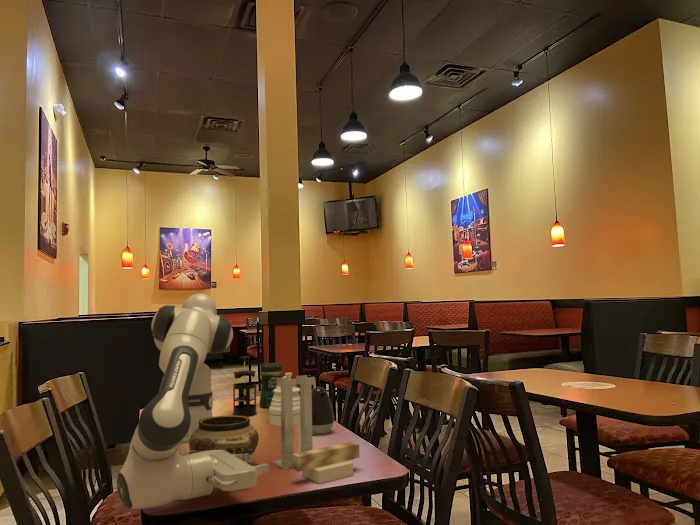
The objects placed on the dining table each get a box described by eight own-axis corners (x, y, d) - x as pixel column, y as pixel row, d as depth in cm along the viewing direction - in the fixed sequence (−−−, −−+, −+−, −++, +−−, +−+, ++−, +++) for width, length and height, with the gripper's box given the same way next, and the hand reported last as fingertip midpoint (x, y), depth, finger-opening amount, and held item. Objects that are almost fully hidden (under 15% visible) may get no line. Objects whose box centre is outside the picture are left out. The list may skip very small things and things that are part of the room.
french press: (260, 415, 203) (259, 356, 205) (236, 418, 199) (236, 358, 201) (251, 410, 214) (251, 354, 216) (229, 413, 210) (229, 356, 212)
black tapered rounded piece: (311, 438, 167) (310, 390, 168) (299, 431, 176) (298, 386, 177) (339, 433, 171) (338, 387, 173) (326, 427, 181) (325, 383, 182)
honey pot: (310, 421, 191) (309, 372, 192) (279, 427, 183) (279, 375, 184) (292, 416, 201) (291, 369, 202) (263, 421, 193) (262, 372, 195)
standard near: (282, 468, 136) (281, 381, 138) (272, 463, 141) (271, 378, 142) (302, 464, 139) (301, 378, 141) (292, 459, 144) (290, 376, 146)
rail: (298, 471, 123) (298, 456, 124) (292, 468, 126) (292, 453, 126) (359, 457, 134) (359, 444, 134) (352, 455, 136) (352, 441, 136)
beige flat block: (318, 483, 123) (318, 470, 124) (302, 475, 130) (302, 463, 130) (353, 475, 129) (352, 462, 129) (335, 467, 136) (335, 455, 136)
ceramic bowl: (260, 489, 128) (274, 428, 131) (189, 482, 121) (205, 417, 124) (238, 464, 150) (251, 411, 153) (177, 456, 143) (191, 402, 146)
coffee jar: (262, 409, 216) (262, 364, 218) (258, 406, 223) (257, 362, 225) (285, 406, 220) (284, 362, 222) (279, 403, 227) (279, 361, 229)
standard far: (302, 464, 139) (301, 378, 141) (292, 459, 144) (290, 376, 146) (321, 460, 142) (320, 376, 144) (310, 455, 147) (309, 374, 149)
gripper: (217, 471, 103) (279, 458, 111) (185, 449, 120) (241, 439, 128) (217, 503, 103) (279, 488, 111) (185, 477, 119) (241, 466, 127)
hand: (258, 462), depth 119 cm, fingers open, 8 cm apart
